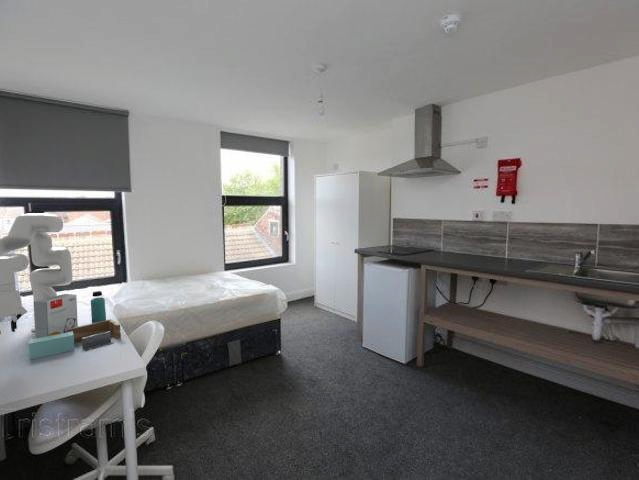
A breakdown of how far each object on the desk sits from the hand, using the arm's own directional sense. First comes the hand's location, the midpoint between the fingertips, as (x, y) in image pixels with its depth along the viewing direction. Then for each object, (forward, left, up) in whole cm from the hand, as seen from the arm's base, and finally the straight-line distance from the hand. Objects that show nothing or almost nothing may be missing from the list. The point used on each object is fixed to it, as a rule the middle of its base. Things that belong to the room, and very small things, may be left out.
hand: (6, 332), depth 130 cm
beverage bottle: (-18, +37, -13) cm, 43 cm away
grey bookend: (+7, +29, -13) cm, 33 cm away
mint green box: (0, +14, -13) cm, 19 cm away
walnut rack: (-1, +30, -13) cm, 33 cm away
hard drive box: (-20, +20, -14) cm, 31 cm away
